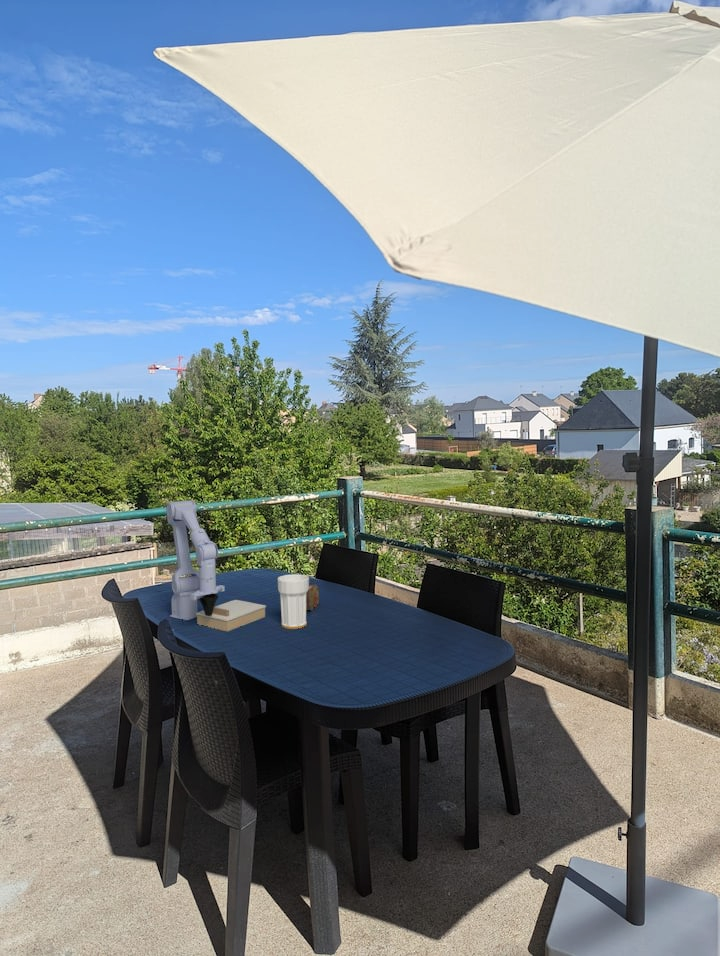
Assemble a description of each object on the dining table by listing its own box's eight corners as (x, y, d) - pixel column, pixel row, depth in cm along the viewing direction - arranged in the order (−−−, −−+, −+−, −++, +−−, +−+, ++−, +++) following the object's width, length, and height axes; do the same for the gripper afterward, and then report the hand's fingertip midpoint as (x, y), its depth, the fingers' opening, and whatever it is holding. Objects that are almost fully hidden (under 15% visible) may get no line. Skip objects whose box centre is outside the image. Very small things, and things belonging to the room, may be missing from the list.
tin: (310, 613, 252) (309, 591, 251) (302, 613, 253) (301, 591, 252) (320, 602, 267) (319, 582, 266) (312, 602, 267) (312, 581, 266)
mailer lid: (196, 614, 239) (195, 607, 238) (235, 601, 256) (235, 594, 256) (227, 621, 230) (227, 614, 230) (265, 607, 247) (265, 600, 247)
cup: (271, 625, 237) (270, 578, 236) (295, 618, 246) (294, 572, 244) (292, 632, 230) (291, 583, 228) (316, 624, 238) (315, 577, 236)
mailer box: (197, 624, 239) (197, 615, 239) (235, 610, 256) (235, 602, 256) (227, 631, 231) (227, 621, 231) (265, 616, 248) (264, 607, 247)
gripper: (200, 583, 224) (201, 622, 225) (230, 574, 236) (231, 611, 237) (185, 580, 228) (187, 619, 229) (216, 572, 240) (217, 608, 241)
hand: (208, 615), depth 233 cm, fingers closed
